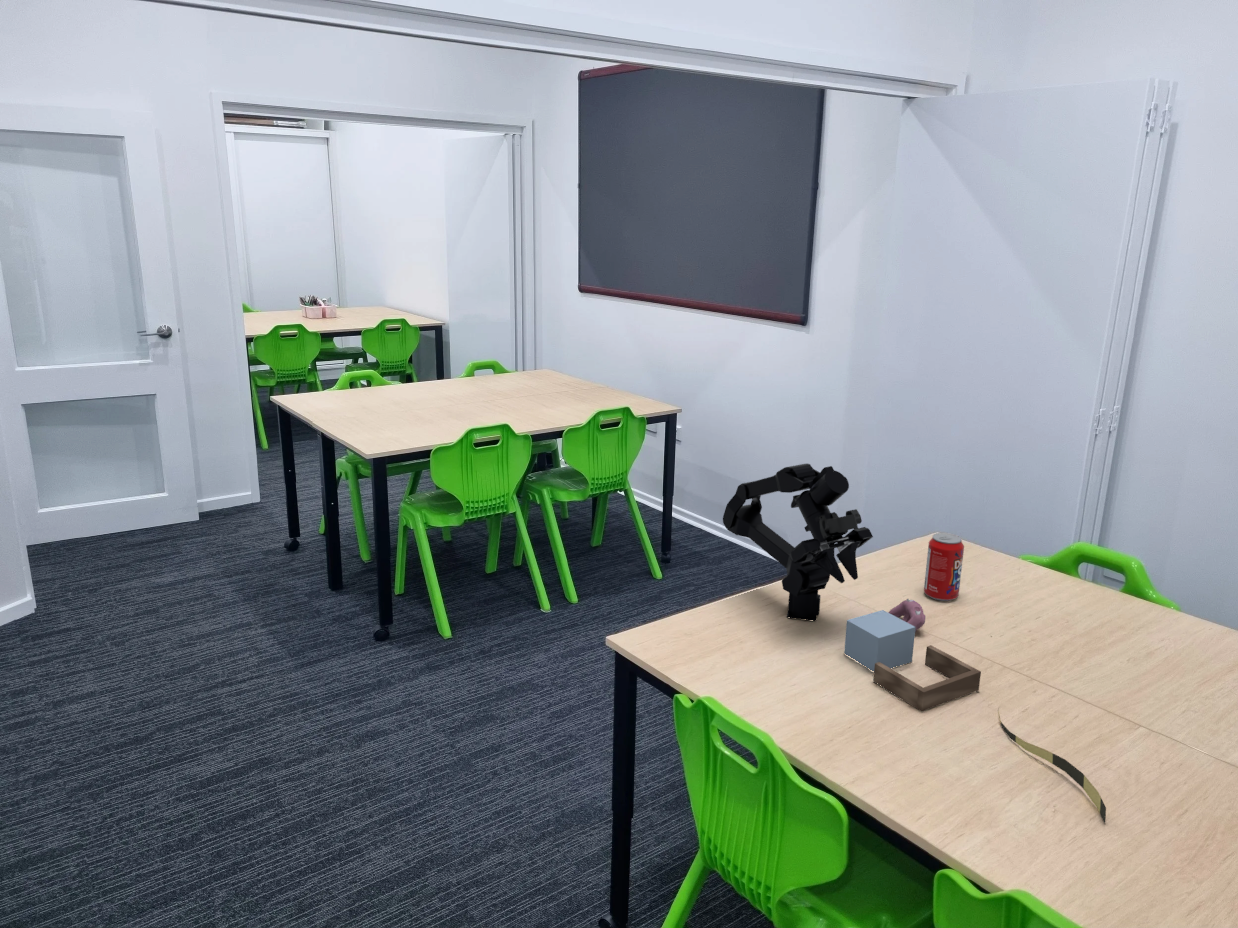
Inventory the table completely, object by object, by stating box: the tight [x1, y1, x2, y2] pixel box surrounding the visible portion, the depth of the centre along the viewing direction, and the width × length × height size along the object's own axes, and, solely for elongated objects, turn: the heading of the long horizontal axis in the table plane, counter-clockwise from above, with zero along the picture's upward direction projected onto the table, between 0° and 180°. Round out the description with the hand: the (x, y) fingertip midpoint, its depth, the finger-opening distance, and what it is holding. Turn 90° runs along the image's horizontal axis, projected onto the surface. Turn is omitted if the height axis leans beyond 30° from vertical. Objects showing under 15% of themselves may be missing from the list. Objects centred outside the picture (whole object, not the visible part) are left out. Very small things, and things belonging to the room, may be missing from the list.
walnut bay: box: [872, 645, 982, 712], centre depth 171 cm, size 12×15×4 cm
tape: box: [997, 711, 1107, 824], centre depth 151 cm, size 6×38×4 cm, turn 179°
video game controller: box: [887, 598, 926, 632], centre depth 195 cm, size 10×5×7 cm, turn 179°
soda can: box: [923, 532, 965, 602], centre depth 209 cm, size 8×8×15 cm
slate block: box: [843, 609, 916, 671], centre depth 181 cm, size 9×10×8 cm
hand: (849, 580), depth 186 cm, fingers open, 3 cm apart
